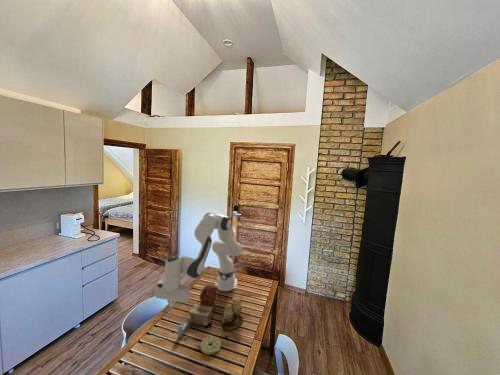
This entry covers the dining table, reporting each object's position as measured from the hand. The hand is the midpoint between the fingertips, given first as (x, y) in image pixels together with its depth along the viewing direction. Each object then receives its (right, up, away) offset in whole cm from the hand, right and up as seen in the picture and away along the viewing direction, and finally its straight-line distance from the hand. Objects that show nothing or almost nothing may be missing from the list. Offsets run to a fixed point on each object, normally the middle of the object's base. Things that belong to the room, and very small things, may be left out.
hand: (172, 306), depth 128 cm
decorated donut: (+23, -20, -6) cm, 31 cm away
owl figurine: (+34, -19, +16) cm, 42 cm away
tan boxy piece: (+12, -18, +14) cm, 26 cm away
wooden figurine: (+16, -17, +26) cm, 35 cm away
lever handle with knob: (+5, -18, +5) cm, 19 cm away
